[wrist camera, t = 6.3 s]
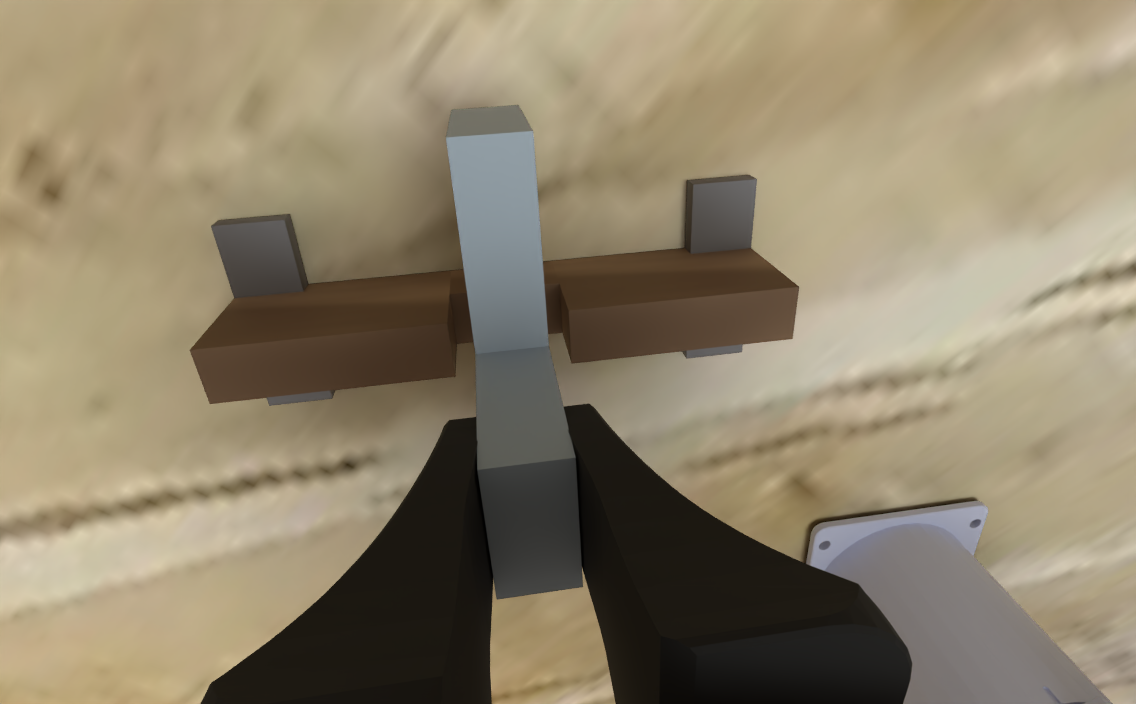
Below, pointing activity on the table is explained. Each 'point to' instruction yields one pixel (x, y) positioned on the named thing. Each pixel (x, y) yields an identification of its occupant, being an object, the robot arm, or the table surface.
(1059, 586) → the table surface
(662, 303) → the walnut slotted plate
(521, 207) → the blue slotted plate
